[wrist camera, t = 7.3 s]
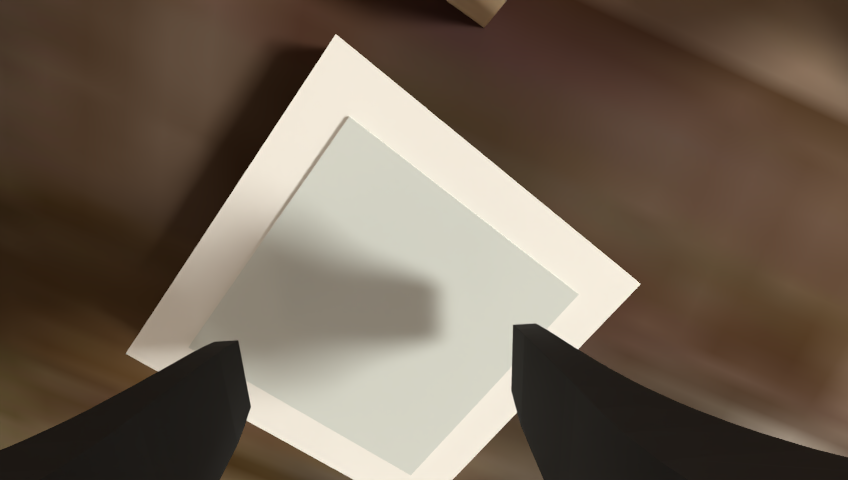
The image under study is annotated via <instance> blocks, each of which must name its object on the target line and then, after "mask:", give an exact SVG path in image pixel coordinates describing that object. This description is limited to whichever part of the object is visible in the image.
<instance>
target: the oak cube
mask: <svg viewBox="0 0 848 480" xmlns="http://www.w3.org/2000/svg"><path fill="white" fill-rule="evenodd" d="M446 1H447V2H449V3H450V4H452V5H453V6H454V7H456V8H457V9H459V10H460V11H461V12H463V13H464V14H466V15H467V16H468V17H470V18H471V19H472V20H474V21H475V22H477V23H478V24H479V25H481V26H482V27H485V26H486V25H487V24H488V23H489V21H490V20H491V19H492V18H493V16H494V15H495V14H496V13H497V12H498V10H499V9H500V8H501V7H502V5H503V4H504V3H505V2H506V1H507V0H446Z"/></svg>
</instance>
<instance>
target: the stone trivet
mask: <svg viewBox="0 0 848 480" xmlns="http://www.w3.org/2000/svg"><path fill="white" fill-rule="evenodd" d="M639 285H640V283H639V282H638V281H637V280H635V279H634V278H633V277H632V276H630V275H629V274H628V273H627V272H626V271H624V270H623V269H622V268H621V267H619V266H618V265H617V264H616V263H615V262H613V261H612V260H611V259H610V258H608V257H607V256H606V255H605V254H604V253H602V252H601V251H600V250H599V249H597V248H596V247H595V246H594V245H593V244H591V243H590V242H589V241H588V240H586V239H585V238H584V237H583V236H582V235H580V234H579V233H578V232H577V231H576V230H574V229H573V228H572V227H571V226H569V225H568V224H567V223H566V222H565V221H563V220H562V219H561V218H560V217H558V216H557V215H556V214H555V213H554V212H552V211H551V210H550V209H549V208H547V207H546V206H545V205H544V204H543V203H541V202H540V201H539V200H538V199H536V198H535V197H534V196H533V195H532V194H530V193H529V192H528V191H527V190H525V189H524V188H523V187H522V186H521V185H519V184H518V183H517V182H516V181H514V180H513V179H512V178H511V177H510V176H508V175H507V174H506V173H505V172H503V171H502V170H501V169H500V168H499V167H497V166H496V165H495V164H494V163H493V162H491V161H490V160H489V159H488V158H486V157H485V156H484V155H483V154H482V153H480V152H479V151H478V150H477V149H475V148H474V147H473V146H472V145H471V144H469V143H468V142H467V141H466V140H464V139H463V138H462V137H461V136H460V135H458V134H457V133H456V132H455V131H453V130H452V129H451V128H450V127H449V126H447V125H446V124H445V123H444V122H442V121H441V120H440V119H439V118H438V117H436V116H435V115H434V114H433V113H431V112H430V111H429V110H428V109H427V108H425V107H424V106H423V105H422V104H420V103H419V102H418V101H417V100H416V99H414V98H413V97H412V96H411V95H410V94H408V93H407V92H406V91H405V90H403V89H402V88H401V87H400V86H399V85H397V84H396V83H395V82H394V81H392V80H391V79H390V78H389V77H388V76H386V75H385V74H384V73H383V72H381V71H380V70H379V69H378V68H377V67H375V66H374V65H373V64H372V63H370V62H369V61H368V60H367V59H366V58H364V57H363V56H362V55H361V54H359V53H358V52H357V51H356V50H355V49H353V48H352V47H351V46H350V45H348V44H347V43H346V42H345V41H344V40H342V39H341V38H340V37H339V36H338V35H335V36H334V38H333V39H332V41H331V42H330V44H329V45H328V47H327V48H326V50H325V51H324V53H323V54H322V56H321V57H320V59H319V61H318V62H317V64H316V65H315V67H314V68H313V70H312V71H311V73H310V74H309V76H308V77H307V79H306V80H305V82H304V83H303V85H302V86H301V88H300V89H299V91H298V92H297V94H296V96H295V97H294V99H293V100H292V102H291V103H290V105H289V106H288V108H287V109H286V111H285V112H284V114H283V115H282V117H281V118H280V120H279V121H278V123H277V124H276V126H275V127H274V129H273V130H272V132H271V134H270V135H269V137H268V138H267V140H266V141H265V143H264V144H263V146H262V147H261V149H260V150H259V152H258V153H257V155H256V156H255V158H254V159H253V161H252V162H251V164H250V165H249V167H248V169H247V170H246V172H245V173H244V175H243V176H242V178H241V179H240V181H239V182H238V184H237V185H236V187H235V188H234V190H233V191H232V193H231V194H230V196H229V197H228V199H227V200H226V202H225V203H224V205H223V207H222V208H221V210H220V211H219V213H218V214H217V216H216V217H215V219H214V220H213V222H212V223H211V225H210V226H209V228H208V229H207V231H206V232H205V234H204V235H203V237H202V238H201V240H200V242H199V243H198V245H197V246H196V248H195V249H194V251H193V252H192V254H191V255H190V257H189V258H188V260H187V261H186V263H185V264H184V266H183V267H182V269H181V270H180V272H179V273H178V275H177V276H176V278H175V280H174V281H173V283H172V284H171V286H170V287H169V289H168V290H167V292H166V293H165V295H164V296H163V298H162V299H161V301H160V302H159V304H158V305H157V307H156V308H155V310H154V311H153V313H152V314H151V316H150V318H149V319H148V321H147V322H146V324H145V325H144V327H143V328H142V330H141V331H140V333H139V334H138V336H137V337H136V339H135V340H134V342H133V343H132V345H131V346H130V348H129V349H128V351H127V353H126V354H127V355H129V356H131V357H133V358H134V359H136V360H138V361H140V362H142V363H143V364H145V365H147V366H149V367H151V368H153V369H154V370H156V371H158V372H159V371H160V370H162V369H164V368H166V367H167V366H169V365H171V364H173V363H174V362H176V361H178V360H180V359H181V358H183V357H185V356H187V355H189V354H190V353H192V352H194V351H196V350H198V349H200V348H202V347H204V346H206V345H208V344H210V343H213V342H216V341H234V340H238V341H239V346H240V352H241V357H242V362H243V367H244V373H245V378H246V383H247V388H248V394H249V399H250V404H251V408H250V411H249V414H248V417H247V421H248V422H250V423H252V424H254V425H256V426H257V427H259V428H261V429H263V430H265V431H267V432H268V433H270V434H272V435H274V436H276V437H277V438H279V439H281V440H283V441H285V442H286V443H288V444H290V445H292V446H294V447H296V448H297V449H299V450H301V451H303V452H305V453H306V454H308V455H310V456H312V457H314V458H315V459H317V460H319V461H321V462H323V463H324V464H326V465H328V466H330V467H332V468H334V469H335V470H337V471H339V472H341V473H343V474H344V475H346V476H348V477H350V478H352V479H353V480H452V479H453V478H454V477H455V476H456V475H457V474H458V473H459V472H460V471H461V470H462V469H463V468H464V467H465V466H466V465H467V464H468V463H469V462H470V461H471V460H472V459H473V458H474V457H475V456H476V455H477V454H478V452H479V451H480V450H481V449H482V448H483V447H484V446H485V445H486V444H487V443H488V442H489V441H490V440H491V439H492V438H493V437H494V436H495V435H496V434H497V433H498V432H499V431H500V430H501V429H502V428H503V427H504V425H505V424H506V423H507V422H508V421H509V420H510V419H511V418H512V417H513V416H514V415H515V414H516V413H517V410H516V407H515V403H514V399H513V395H512V392H511V380H512V342H513V325H516V324H534V323H536V324H538V325H540V326H542V327H543V328H545V329H547V330H548V331H550V332H551V333H553V334H555V335H556V336H558V337H559V338H561V339H562V340H564V341H565V342H567V343H569V344H570V345H572V346H573V347H575V348H576V349H579V348H580V347H581V346H582V344H583V343H584V342H585V341H586V340H587V339H588V338H589V337H590V336H591V335H592V334H593V333H594V332H595V331H596V330H597V329H598V328H599V327H600V326H601V325H602V324H603V323H604V322H605V321H606V320H607V319H608V317H609V316H610V315H611V314H612V313H613V312H614V311H615V310H616V309H617V308H618V307H619V306H620V305H621V304H622V303H623V302H624V301H625V300H626V299H627V298H628V297H629V296H630V295H631V294H632V293H633V292H634V290H635V289H636V288H637V287H638V286H639Z"/></svg>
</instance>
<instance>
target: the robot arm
mask: <svg viewBox="0 0 848 480" xmlns="http://www.w3.org/2000/svg"><path fill="white" fill-rule="evenodd" d="M511 392H512V395H513V399H514V403H515V407H516V410H517V414H518V417H519V420H520V424H521V427H522V429H523V432H524V434H525V436H526V439H527V441H528V444H529V446H530V448H531V451H532V453H533V455H534V458H535V460H536V462H537V465H538V467H539V469H540V472H541V474H542V476H543V479H544V480H848V458H847V457H844V456H840V455H836V454H832V453H828V452H824V451H820V450H816V449H812V448H809V447H805V446H802V445H798V444H795V443H792V442H789V441H785V440H782V439H779V438H775V437H772V436H769V435H766V434H762V433H759V432H756V431H753V430H750V429H747V428H744V427H741V426H739V425H736V424H733V423H730V422H727V421H725V420H722V419H719V418H717V417H714V416H711V415H709V414H706V413H703V412H701V411H698V410H696V409H693V408H691V407H688V406H686V405H683V404H681V403H679V402H676V401H674V400H672V399H670V398H667V397H665V396H663V395H661V394H659V393H657V392H654V391H652V390H650V389H648V388H646V387H644V386H642V385H640V384H638V383H636V382H634V381H632V380H630V379H628V378H626V377H624V376H623V375H621V374H619V373H617V372H615V371H613V370H612V369H610V368H608V367H606V366H605V365H603V364H601V363H599V362H598V361H596V360H594V359H593V358H591V357H589V356H588V355H586V354H584V353H583V352H581V351H580V350H578V349H576V348H575V347H573V346H572V345H570V344H569V343H567V342H565V341H564V340H562V339H561V338H559V337H558V336H556V335H555V334H553V333H551V332H550V331H548V330H547V329H545V328H543V327H542V326H540V325H538V324H536V323H534V324H516V325H513V342H512V380H511ZM250 408H251V404H250V399H249V394H248V388H247V383H246V378H245V373H244V367H243V362H242V357H241V352H240V346H239V341H238V340H234V341H216V342H213V343H210V344H208V345H206V346H204V347H202V348H200V349H198V350H196V351H194V352H192V353H190V354H189V355H187V356H185V357H183V358H181V359H180V360H178V361H176V362H174V363H173V364H171V365H169V366H167V367H166V368H164V369H162V370H160V371H159V372H157V373H155V374H153V375H152V376H150V377H148V378H146V379H145V380H143V381H141V382H139V383H137V384H136V385H134V386H132V387H130V388H128V389H126V390H125V391H123V392H121V393H119V394H117V395H115V396H113V397H111V398H110V399H108V400H106V401H104V402H102V403H100V404H98V405H97V406H95V407H93V408H91V409H89V410H87V411H85V412H83V413H81V414H79V415H77V416H75V417H73V418H71V419H69V420H67V421H65V422H63V423H61V424H59V425H56V426H54V427H52V428H50V429H48V430H46V431H43V432H41V433H39V434H37V435H35V436H32V437H30V438H28V439H26V440H24V441H21V442H19V443H17V444H14V445H12V446H10V447H7V448H5V449H2V450H0V480H220V478H221V476H222V474H223V472H224V470H225V468H226V466H227V464H228V462H229V460H230V458H231V456H232V454H233V452H234V450H235V448H236V446H237V444H238V442H239V439H240V437H241V434H242V431H243V429H244V426H245V423H246V420H247V417H248V414H249V411H250Z"/></svg>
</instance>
